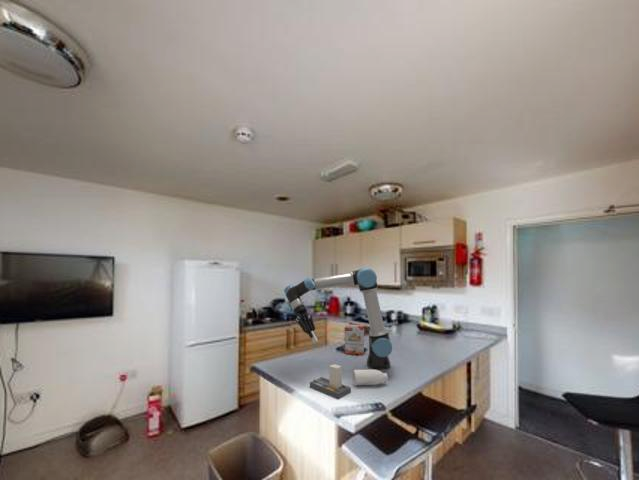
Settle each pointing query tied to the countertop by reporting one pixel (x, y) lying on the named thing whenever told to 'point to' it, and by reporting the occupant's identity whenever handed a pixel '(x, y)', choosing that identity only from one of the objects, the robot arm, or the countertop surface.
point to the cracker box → (354, 339)
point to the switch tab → (335, 376)
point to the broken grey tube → (368, 377)
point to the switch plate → (329, 388)
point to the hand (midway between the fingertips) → (315, 342)
